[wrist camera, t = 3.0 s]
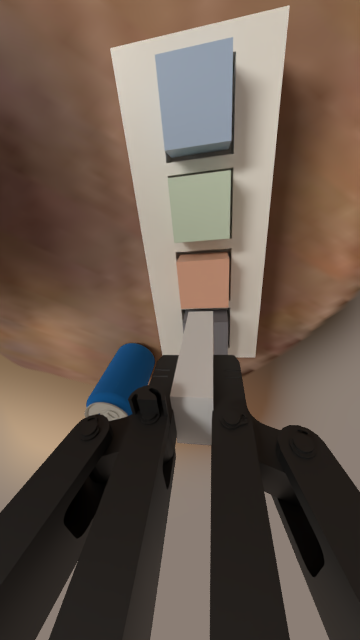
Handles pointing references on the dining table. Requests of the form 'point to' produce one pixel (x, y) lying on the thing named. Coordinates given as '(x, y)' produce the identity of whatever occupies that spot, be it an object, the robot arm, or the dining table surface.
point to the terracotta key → (203, 280)
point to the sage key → (200, 206)
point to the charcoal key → (216, 330)
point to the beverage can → (121, 382)
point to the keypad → (208, 167)
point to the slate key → (196, 97)
